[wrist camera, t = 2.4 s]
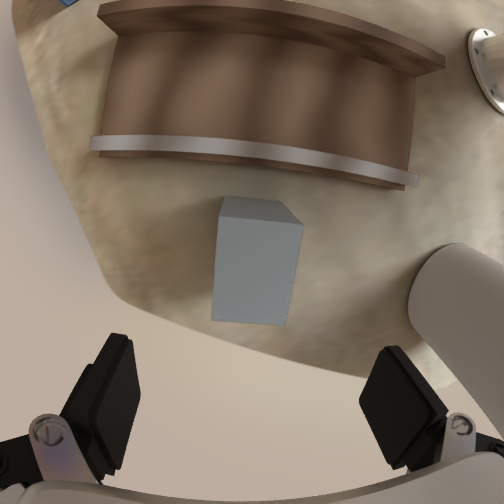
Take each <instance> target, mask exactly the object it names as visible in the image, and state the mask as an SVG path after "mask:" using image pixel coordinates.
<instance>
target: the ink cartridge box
mask: <svg viewBox="0 0 504 504" xmlns="http://www.w3.org/2000/svg"><path fill="white" fill-rule="evenodd" d="M58 1H59V2H60V3H62V4H63V5H64V6H65V7H68V6H69V5H70V4H72V3H73V2H75V1H77V0H58Z"/></svg>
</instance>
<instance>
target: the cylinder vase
mask: <svg viewBox="0 0 504 504" xmlns="http://www.w3.org/2000/svg"><path fill="white" fill-rule="evenodd" d="M408 315H409V319H410V322H411V324H412V326H413V327H414V329H415V330H416V331H417V332H418V333H419V334H420V336H421V337H422V338H423V339H424V340H425V341H426V342H427V343H428V345H429V346H430V347H431V348H432V349H433V350H434V351H435V353H436V354H437V355H438V356H439V357H440V358H441V360H442V361H443V362H444V363H445V364H446V366H447V367H448V368H449V369H450V370H451V372H452V373H453V374H454V375H455V376H456V378H457V379H458V380H459V381H460V382H461V384H462V385H463V386H464V387H465V389H466V390H467V391H468V392H469V394H470V395H471V396H472V398H473V399H474V400H475V401H476V403H477V404H478V405H479V407H480V408H481V409H482V410H483V412H484V413H485V414H486V416H487V417H488V418H489V420H490V421H491V423H492V424H493V425H494V427H495V428H496V429H497V431H498V432H499V434H500V435H501V436H502V438H503V439H504V265H503V264H501V263H499V262H498V261H496V260H494V259H492V258H490V257H489V256H487V255H485V254H483V253H481V252H479V251H477V250H475V249H473V248H471V247H469V246H467V245H465V244H460V243H455V244H450V245H447V246H445V247H443V248H441V249H440V250H438V251H437V252H435V253H434V254H433V255H432V256H431V257H430V258H429V259H428V260H427V261H426V262H425V264H424V265H423V266H422V268H421V269H420V271H419V273H418V274H417V276H416V278H415V280H414V282H413V285H412V288H411V291H410V295H409V300H408Z"/></svg>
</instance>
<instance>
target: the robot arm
mask: <svg viewBox="0 0 504 504" xmlns="http://www.w3.org/2000/svg"><path fill="white" fill-rule="evenodd" d="M468 52H469V57H470V62H471V65H472V69H473V71H474V74H475V76H476V79H477V81H478V83H479V85H480V87H481V89H482V91H483V92H484V94H485V96H486V97H487V98H488V100H489V101H490V102H491V104H492V105H493V106H494V107H495V108H496V109H497V110H498V111H500V112H501V113H503V114H504V33H503V34H499V35H496V34H494V33H493V32H492V31H490V30H488V29H484V28H479V29H476V30H474V31H472V32H471V34H470V36H469V39H468ZM140 394H141V393H140V386H139V381H138V376H137V369H136V362H135V355H134V348H133V342H132V340H129V339H128V337H127V335H123V334H117V333H111V334H110V336H109V337H108V339H107V341H106V342H105V344H104V346H103V348H102V349H101V351H100V353H99V355H98V356H97V358H96V360H95V362H94V363H93V364H88V365H87V366H86V368H85V369H84V371H83V373H82V374H81V376H80V378H79V380H78V382H77V383H76V385H75V387H74V389H73V390H72V392H71V394H70V396H69V398H68V400H67V402H66V403H65V405H64V407H63V409H62V411H61V413H60V415H59V416H58V415H55V414H43V415H40V416H38V417H37V418H35V419H34V420H33V421H32V423H31V424H30V427H29V434H27V435H24V436H20V437H17V438H13V439H10V440H6V441H3V442H0V504H504V441H502V440H500V439H496V438H493V437H490V436H487V435H484V434H480V433H477V432H476V426H475V423H474V421H473V420H472V419H471V418H470V417H468V416H467V415H465V414H463V413H453V414H451V415H450V416H449V417H448V418H447V417H446V414H447V412H448V411H449V410H448V409H447V407H446V406H445V405H444V403H443V402H442V401H441V400H440V398H439V397H438V395H437V394H436V393H435V391H434V390H433V389H432V387H431V386H430V385H429V383H428V382H427V381H426V379H425V378H424V377H423V376H422V374H421V373H420V372H419V370H418V369H417V368H416V367H415V365H414V364H413V363H412V361H411V360H410V359H409V358H408V356H407V355H406V354H405V353H404V351H403V350H402V349H401V348H400V347H399V346H386V347H384V348H383V350H381V351H380V352H379V355H378V357H377V359H376V362H375V364H374V367H373V369H372V371H371V373H370V376H369V378H368V380H367V382H366V385H365V387H364V389H363V391H362V393H361V395H360V398H359V404H360V407H361V409H362V411H363V413H364V415H365V417H366V419H367V421H368V423H369V425H370V427H371V430H372V432H373V434H374V436H375V438H376V440H377V442H378V445H379V447H380V449H381V451H382V453H383V455H384V458H385V459H386V461H387V463H388V464H389V465H391V467H392V469H393V470H396V469H398V468H402V467H404V466H405V465H406V466H407V467H408V469H407V473H406V474H405V475H402V476H399V477H396V478H393V479H390V480H386V481H383V482H379V483H376V484H372V485H368V486H364V487H360V488H356V489H352V490H347V491H342V492H337V493H331V494H325V495H319V496H312V497H305V498H296V499H286V500H274V501H251V502H250V501H248V502H231V501H205V500H193V499H184V498H175V497H166V496H159V495H153V494H147V493H142V492H136V491H131V490H126V489H120V488H116V487H111V486H106V485H104V484H103V483H102V481H101V480H103V479H104V476H105V474H108V475H112V476H114V474H115V470H116V469H117V470H120V469H121V466H122V462H123V458H124V454H125V451H126V447H127V443H128V439H129V436H130V432H131V429H132V425H133V421H134V418H135V415H136V411H137V408H138V405H139V401H140Z"/></svg>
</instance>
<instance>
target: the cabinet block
mask: <svg viewBox="0 0 504 504" xmlns="http://www.w3.org/2000/svg"><path fill="white" fill-rule="evenodd" d="M302 231H303V224H302V223H301V222H300V221H299V220H298V219H297V218H296V217H295V216H294V215H293V214H292V213H291V211H290V210H289V209H288V208H287V207H286V206H285V205H284V204H283V203H282V202H279V201H271V200H262V199H253V198H243V197H233V196H225V197H224V200H223V203H222V207H221V210H220V214H219V220H218V231H217V243H216V256H215V269H214V283H213V298H212V315H211V320H213V321H224V322H236V323H250V324H266V325H285V324H286V319H287V314H288V309H289V304H290V298H291V293H292V288H293V283H294V277H295V272H296V266H297V260H298V255H299V249H300V243H301V237H302Z"/></svg>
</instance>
